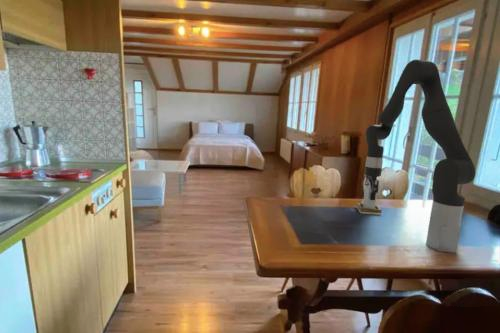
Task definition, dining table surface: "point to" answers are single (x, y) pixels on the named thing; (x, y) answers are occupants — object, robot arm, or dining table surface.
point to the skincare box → (368, 199)
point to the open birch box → (368, 211)
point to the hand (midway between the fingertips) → (369, 197)
